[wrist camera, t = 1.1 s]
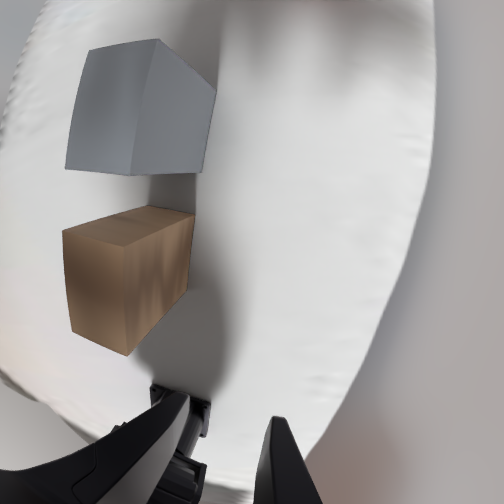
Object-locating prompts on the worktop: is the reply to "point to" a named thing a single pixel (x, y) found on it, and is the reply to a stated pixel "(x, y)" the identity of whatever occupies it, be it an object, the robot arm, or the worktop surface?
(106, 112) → the grey block
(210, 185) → the worktop surface
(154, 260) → the walnut block
